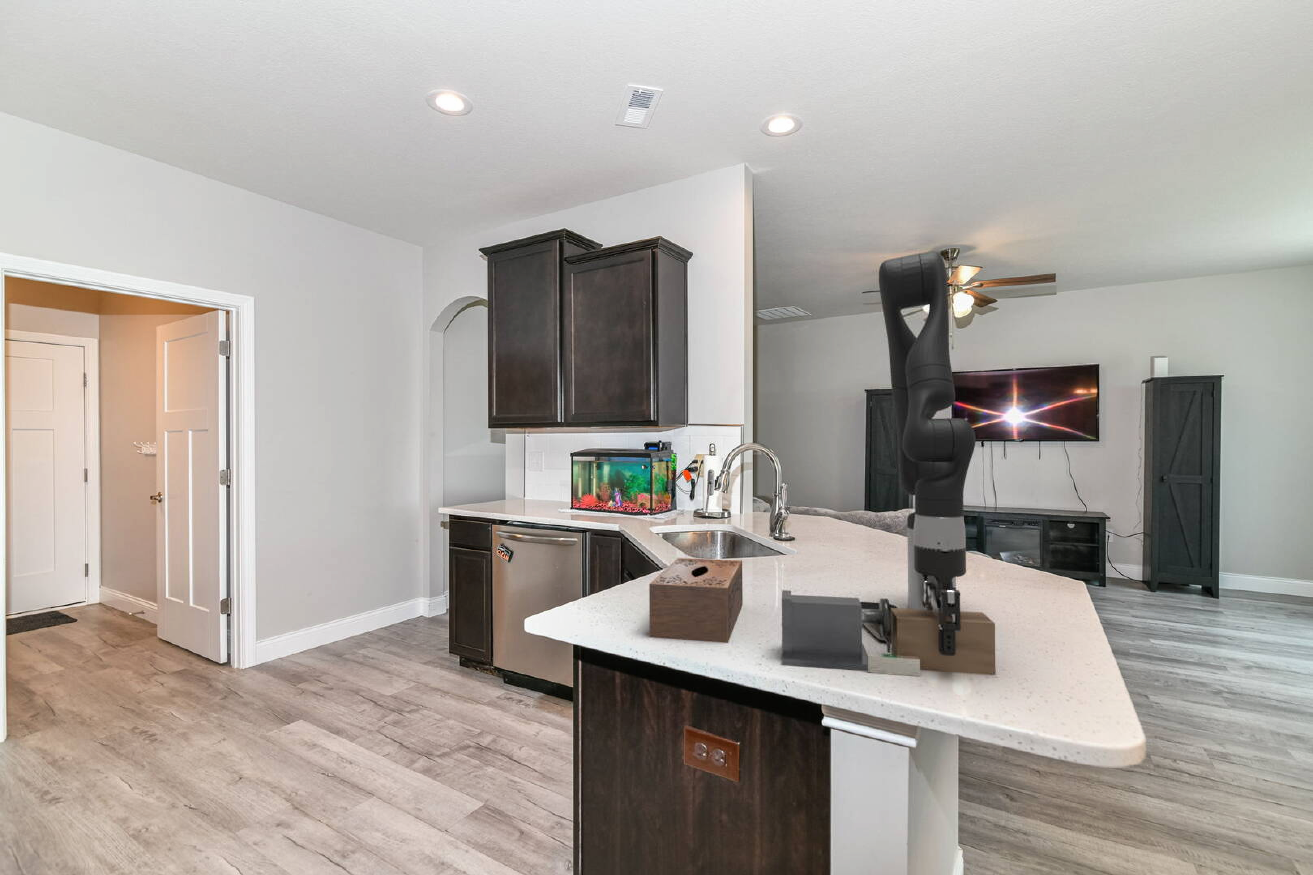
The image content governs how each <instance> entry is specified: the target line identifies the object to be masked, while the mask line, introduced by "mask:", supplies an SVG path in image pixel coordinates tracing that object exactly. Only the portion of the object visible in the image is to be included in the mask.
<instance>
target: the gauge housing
mask: <svg viewBox="0 0 1313 875" xmlns="http://www.w3.org/2000/svg"><path fill="white" fill-rule="evenodd" d="M860 602H861V601H860V599H859V598H858V597H845V596H844V597H843V596H842V597H841V596H822V595H821V596H820V595H804V594H803V595H800V594H792V590H791V589H790V590H789V589H788V590H786V589H784V590H783V589H782V590H781V641H782V642H781V663H782V664H781V665H782V666H792V667H794V666H796V667H809V668H823V669H838V670H850V671H852V670H853V671H865V672H867V673H872V674H873V673H874V674H886V675H887V674H889V675H890V674H891V675H901V676H917V677H920V676H921V670H920V659H919V657H915V656H900V655H894V654H891V653H868V652H867V650H866V648H865V645H864V643H863V624H862V605H861V603H860Z"/></svg>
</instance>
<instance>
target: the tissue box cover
mask: <svg viewBox="0 0 1313 875" xmlns="http://www.w3.org/2000/svg"><path fill="white" fill-rule="evenodd" d="M648 588H649V589H648V591H649V601H648V602H649V603H648V604H649V606H648V607H649V638H655V639H658V638H659V639H670V640H684V641H697V642H710V643H711V642H713V643H721V644H722V643H725V644H729V642H730V639H731V636H732V635H733V631H734V628H735V625H736V623H737V621H738V618H739V615H740V613H741V610H742V607H743V600H744V598H743V594H744V593H743V560H737V559H736V560H735V559H715V558H714V559H712V558H710V559H709V558H708V559H707V558H706V559H705V558H686V557H685V558H684V557H682V558H681V557H678V558H676V559H675V560H674V561H673V562H672V563H671V564H669V566H667V568H665V570H663V571H662V572H661V573H660V574H658V576H657V577H655V578H654V579H653V580H652V581H651V582H650V583H649V587H648Z"/></svg>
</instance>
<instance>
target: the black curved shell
mask: <svg viewBox="0 0 1313 875" xmlns="http://www.w3.org/2000/svg"><path fill="white" fill-rule="evenodd" d="M860 603H861V605H862V609H874V610H879V602H871V601H860ZM889 605H890V612H891V608H898V607H897V606H896V605H893V604H891V603H889ZM862 626H864V627H865V628H866V629H867V630H868V631H869V632H870V633H871V634H872V635H874V636H875V637H876V638H877V639H878V640H880V641H885V637H882V635H881V631H880V625H869V624H862ZM888 639H889V641H890V642H891V634H890V637H888Z"/></svg>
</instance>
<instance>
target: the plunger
mask: <svg viewBox="0 0 1313 875" xmlns="http://www.w3.org/2000/svg"><path fill="white" fill-rule="evenodd" d="M878 603H879V610H874V609H862V625H863V624H869V625H880V631H881V635H882V637H885V640H884V642H886V650H887V651H886V652H887V653H886V654H891V641H889V639H888V637H890V634H891V612H890V605H889V604H890V601H889V599H888V598H880V599H879V602H878Z"/></svg>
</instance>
